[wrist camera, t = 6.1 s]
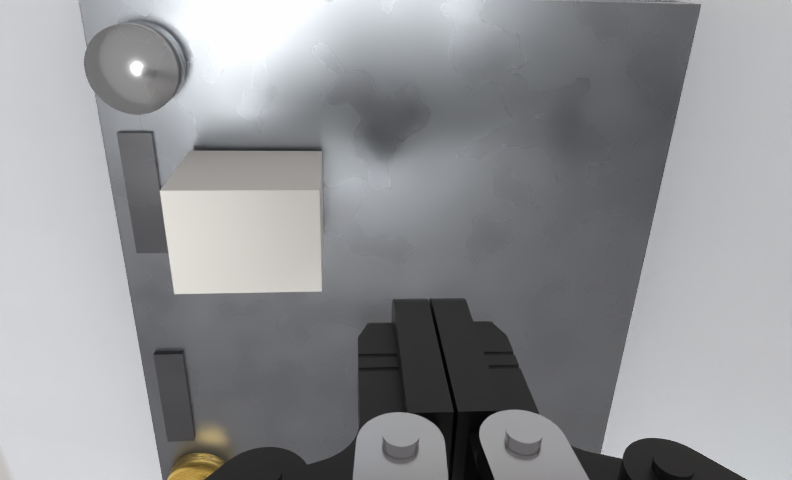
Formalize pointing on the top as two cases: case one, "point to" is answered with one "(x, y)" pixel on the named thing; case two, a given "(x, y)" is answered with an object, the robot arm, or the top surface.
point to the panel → (391, 193)
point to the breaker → (245, 222)
